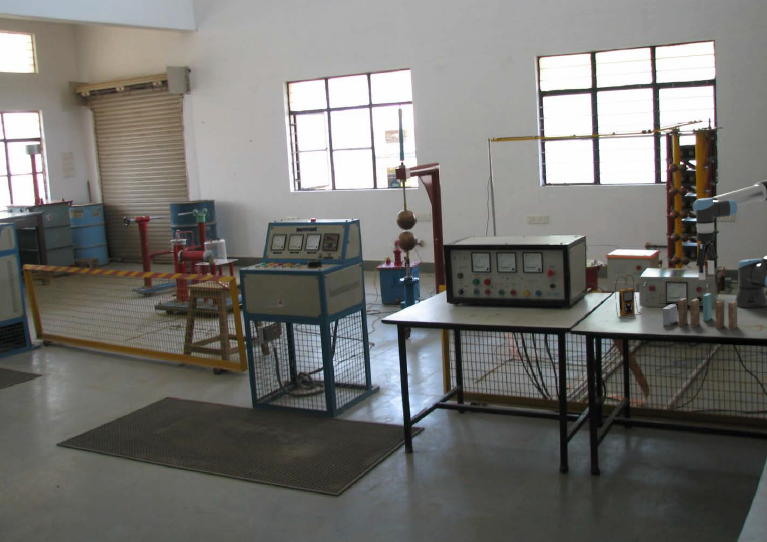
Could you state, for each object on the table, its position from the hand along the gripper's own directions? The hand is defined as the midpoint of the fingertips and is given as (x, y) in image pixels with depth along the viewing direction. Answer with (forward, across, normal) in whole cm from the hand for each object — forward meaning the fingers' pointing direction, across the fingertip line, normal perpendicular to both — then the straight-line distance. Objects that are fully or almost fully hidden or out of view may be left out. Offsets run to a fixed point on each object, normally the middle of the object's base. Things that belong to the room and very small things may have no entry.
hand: (706, 276), depth 368 cm
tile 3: (+20, 0, 0) cm, 20 cm away
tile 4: (+20, +13, -2) cm, 24 cm away
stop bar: (+20, +13, -13) cm, 27 cm away
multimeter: (+20, +4, -35) cm, 41 cm away
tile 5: (+20, +13, -7) cm, 25 cm away
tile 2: (+20, +13, +9) cm, 26 cm away
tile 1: (+20, +13, +15) cm, 28 cm away
